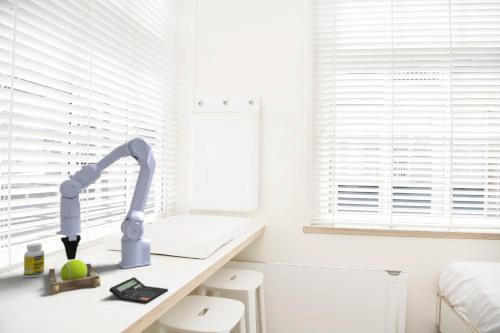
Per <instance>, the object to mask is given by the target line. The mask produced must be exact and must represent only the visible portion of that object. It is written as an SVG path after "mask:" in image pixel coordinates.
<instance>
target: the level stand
mask: <svg viewBox="0 0 500 333" xmlns="http://www.w3.org/2000/svg"><path fill="white" fill-rule="evenodd" d="M85 264H86V266H87V276H86V277H85V278H78V279H72V280H66V281H63V280H59V281H57V277H56V276H57V275H56V271H55V270H56V269H55V268H49V269H48V275H49V276H48V278H49V292H50V293H49V294H50V296H51V295H52V296H55V295H58V294H59V293H64V292H69V291H70V292H71V291H75V290H80V289H85V288H86V287H87V288H91V286H93V287H92V288H99V287H101V278H100V276H99V275H97V273H96V272H95V270H94V267H92V264H91V263H85ZM98 286H99V287H98Z"/></svg>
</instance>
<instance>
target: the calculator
mask: <svg viewBox="0 0 500 333" xmlns="http://www.w3.org/2000/svg"><path fill="white" fill-rule="evenodd" d="M108 291H109V292H110V293H111V294H113V295H114V296H115V297H116V298H117V299H119V300H121V301H124V302H131V303H139V304H144V305H145V304H146V305H147V304H149V303H150V302H152V301H154V300H156V299H157V298H159V297H160V296H162V295H164V294H165V293H167V292H169V289H168V288H164V287H163V288H162V287H157V286H149V285H148V286H147V285H145V284H144V283H142V282H141V281H140V280H139V279H138V278H136V277H135V276H134V277H131V278H129V279H126V280H124V281H122V282H121V283H118V284H116V285H113V286H111V287H110V288H109V290H108Z"/></svg>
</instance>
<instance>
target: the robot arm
mask: <svg viewBox="0 0 500 333" xmlns="http://www.w3.org/2000/svg"><path fill="white" fill-rule="evenodd" d="M126 157H132V158H133V159H134V160H135V161H136V162H137V164H138V165H139V166H140V168H139V172H138V177H137V179H136V182H135V183H136V184H135V187H134V191H133V195H132V199H131V203H130V206H129V210H128V211H127V214H126V216H125V218H124V220H123V221H122V222H121V224H120V231H121V233H122V234H123V235H122V237H121V238H120V242H121V243H120V246H121V249H120V252H121V254H120V255H121V259H120V261H118V265H119V266H120V267H121V268H122V270H123V269H129V268H130V269H131V268H135V267H142V266H149V265H152V262H151V260H152V259H151V258H152V257H151V256H152V255H151V254H152V253H151V240H150V238H149V237H144V236H143V235H144V233H145V228H144V227H145V226H144V221H145V219H144V218H145V216H144V215H145V214H144V213H145V210H146V205H147V201H148V197H149V193H150V189H151V186H152V181H153V178H154V174H155V169H156V165H157V164H156V160H155V156H154V154H153V148H152V146H151V144H150V143H149V141H148V140H147V139H145V138H144V137H142V136H141V137H140V136H139V137H135V138H132V139H130V140H128V141H127V142H125V143H123V144H120V145H118V146H117V147H115V148H114V149H113V150H112V151H110V152H109V153H107V155H105V156H104V157H103V158H102V159H100V160H99V161H98V162H96V163H88V164H83V165H82V166H81V169H80V170H78V171H76V172H75V173H74V174H70V175H68V178H69V179H65V180H64V181H62V183H61V184H60V186H59V193H60V199H59V200H60V203H59V216H60V218H59V219H60V226H59V227H60V230H59V231H56V233H55V234H56V235H61V236H64V237H60V241H61V242H62V244H63V246H64V250H65V256H66V259H67V260H68V261H71V260H76V257H77V251H78V247H79V244H80V242H81V239H82V237H81V235H80V234H81V232H82V229H81V202H80V193H81V191H82V190H85V189H86V188H88V187H89V186H91V185H92V184H93V183H95V182H96V181H98V180H99V179H101V177H102V172H103V171H104V170H106V169H107V168H109V167H110V166H111V165H112V164H114V163H115V162H117V161H119V160H120V159H121V158H126Z"/></svg>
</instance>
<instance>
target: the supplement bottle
mask: <svg viewBox="0 0 500 333" xmlns="http://www.w3.org/2000/svg"><path fill="white" fill-rule="evenodd" d="M42 247H43V245H42V243H40V242H35V243H29V244H27V245H26V250H27V251H26V252H24V255H23V262H24V263H23V276H24V277H25V278H28V279H29V278H30V279H31V278H37V277H41V276H43V275H45V250H43V249H42Z"/></svg>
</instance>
